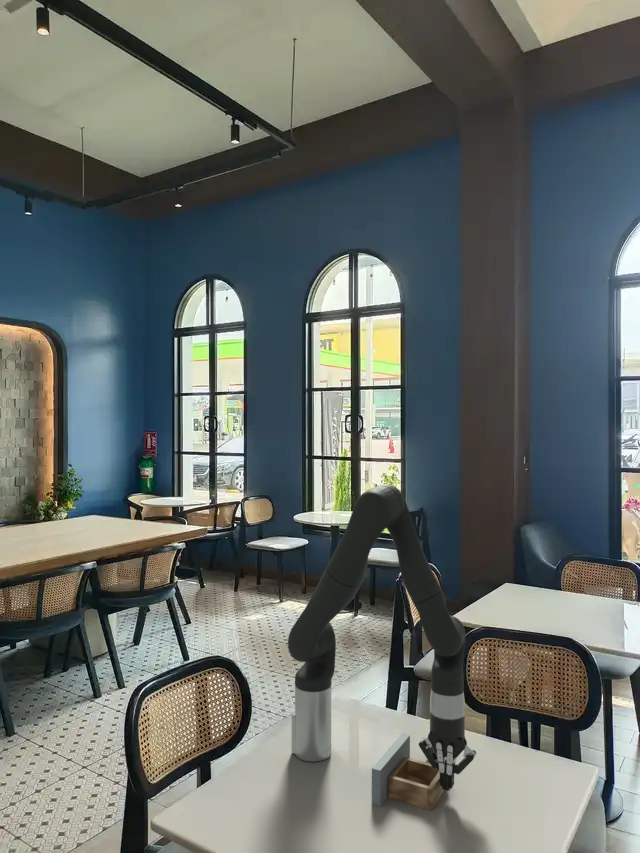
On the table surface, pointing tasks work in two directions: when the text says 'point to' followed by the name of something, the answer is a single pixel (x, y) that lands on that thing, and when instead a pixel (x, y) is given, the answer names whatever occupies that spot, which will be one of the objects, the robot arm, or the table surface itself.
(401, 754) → the backstop board
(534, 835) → the table surface
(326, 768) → the table surface
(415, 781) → the socket block
